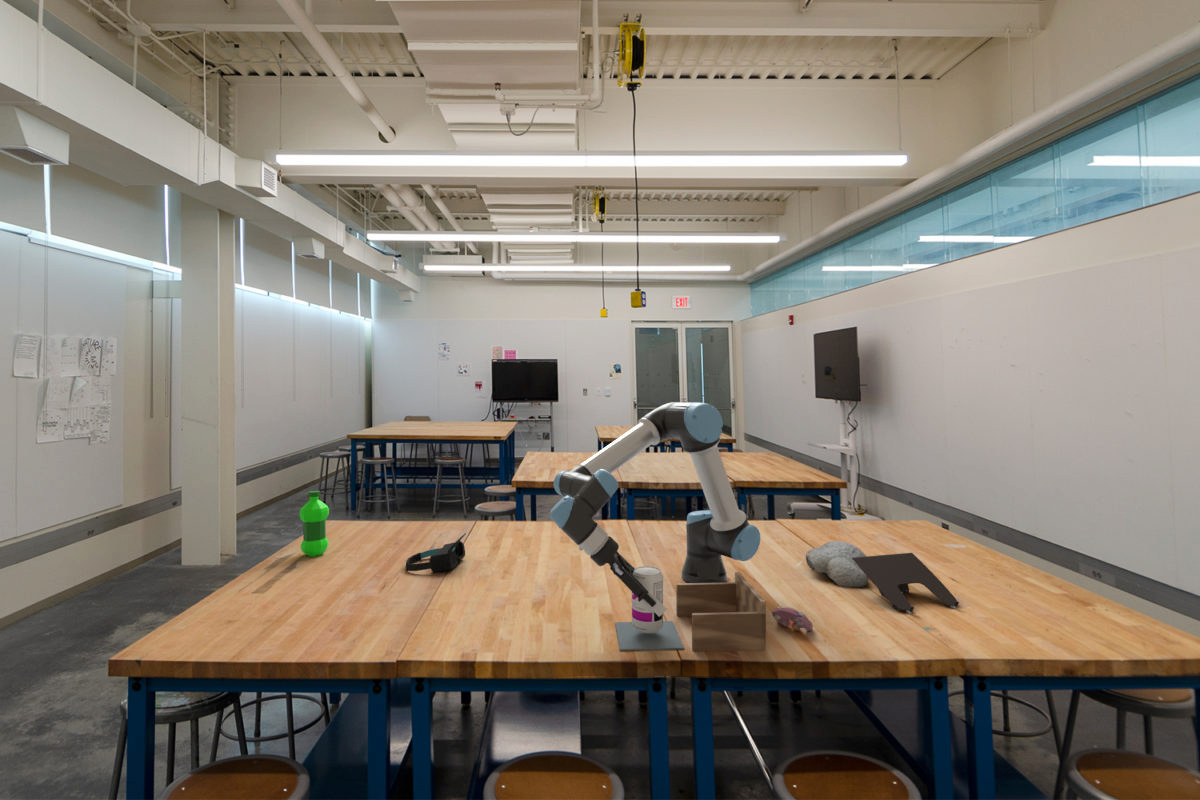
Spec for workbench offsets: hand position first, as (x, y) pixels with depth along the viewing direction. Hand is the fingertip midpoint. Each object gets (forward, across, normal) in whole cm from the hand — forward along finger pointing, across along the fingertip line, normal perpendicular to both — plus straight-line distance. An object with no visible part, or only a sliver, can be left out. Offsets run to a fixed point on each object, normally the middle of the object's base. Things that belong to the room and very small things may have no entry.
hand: (660, 605), depth 145 cm
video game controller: (+31, -3, +20) cm, 37 cm away
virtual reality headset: (-46, -63, -58) cm, 98 cm away
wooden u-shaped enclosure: (+17, -2, +6) cm, 18 cm away
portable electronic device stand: (+62, -21, +51) cm, 83 cm away
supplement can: (+2, 0, -6) cm, 7 cm away
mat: (+3, 0, -8) cm, 9 cm away
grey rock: (+56, -46, +44) cm, 84 cm away
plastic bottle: (-83, -79, -94) cm, 148 cm away
